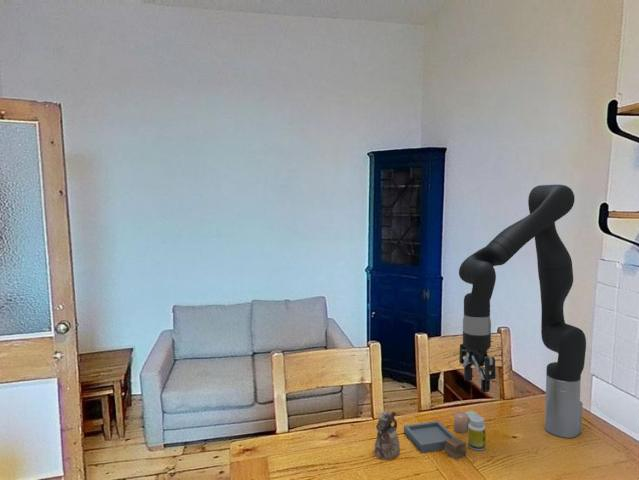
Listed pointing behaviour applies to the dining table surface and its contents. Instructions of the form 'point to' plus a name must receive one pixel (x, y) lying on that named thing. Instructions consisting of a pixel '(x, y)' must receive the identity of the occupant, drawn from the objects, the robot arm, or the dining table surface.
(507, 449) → the dining table surface
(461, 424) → the pink rounded capsule
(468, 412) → the sage block
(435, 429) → the tray
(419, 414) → the dining table surface
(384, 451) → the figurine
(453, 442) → the walnut block
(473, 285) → the robot arm
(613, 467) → the dining table surface
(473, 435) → the supplement bottle
